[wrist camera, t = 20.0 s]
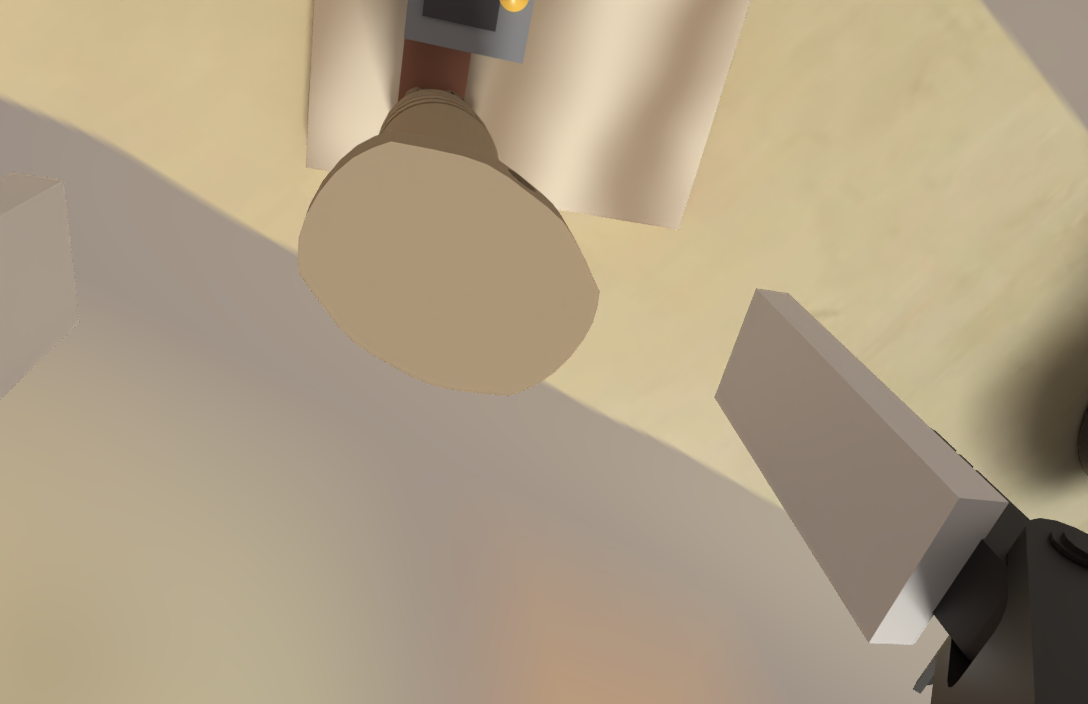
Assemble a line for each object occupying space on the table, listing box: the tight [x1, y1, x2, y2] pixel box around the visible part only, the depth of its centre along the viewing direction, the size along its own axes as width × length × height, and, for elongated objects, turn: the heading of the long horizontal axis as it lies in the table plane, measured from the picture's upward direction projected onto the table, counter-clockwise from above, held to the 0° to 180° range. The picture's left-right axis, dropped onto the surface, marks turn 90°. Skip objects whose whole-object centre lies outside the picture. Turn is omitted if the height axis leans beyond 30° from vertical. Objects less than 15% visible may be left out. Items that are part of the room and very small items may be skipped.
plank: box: [306, 0, 751, 230], centre depth 27 cm, size 16×10×2 cm, turn 78°
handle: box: [298, 87, 599, 396], centre depth 21 cm, size 5×6×15 cm
